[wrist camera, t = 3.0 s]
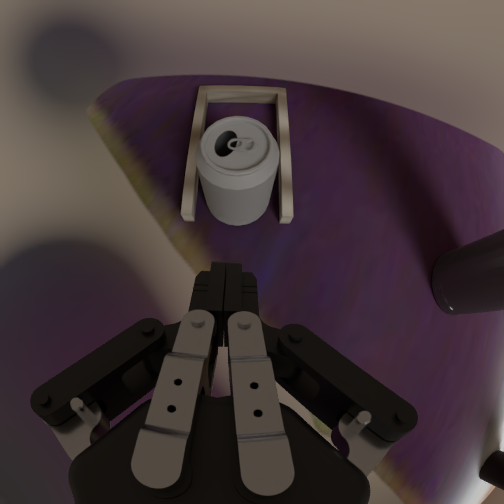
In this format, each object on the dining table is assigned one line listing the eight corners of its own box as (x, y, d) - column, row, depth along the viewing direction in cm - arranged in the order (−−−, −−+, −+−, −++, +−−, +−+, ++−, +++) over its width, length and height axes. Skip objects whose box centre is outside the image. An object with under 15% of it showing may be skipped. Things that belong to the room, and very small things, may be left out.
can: (218, 165, 35) (210, 102, 23) (275, 180, 34) (290, 120, 23) (198, 218, 33) (178, 168, 21) (259, 235, 33) (270, 191, 21)
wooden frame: (289, 223, 33) (293, 216, 31) (184, 221, 33) (180, 213, 30) (283, 99, 38) (285, 88, 35) (201, 97, 37) (199, 86, 35)
